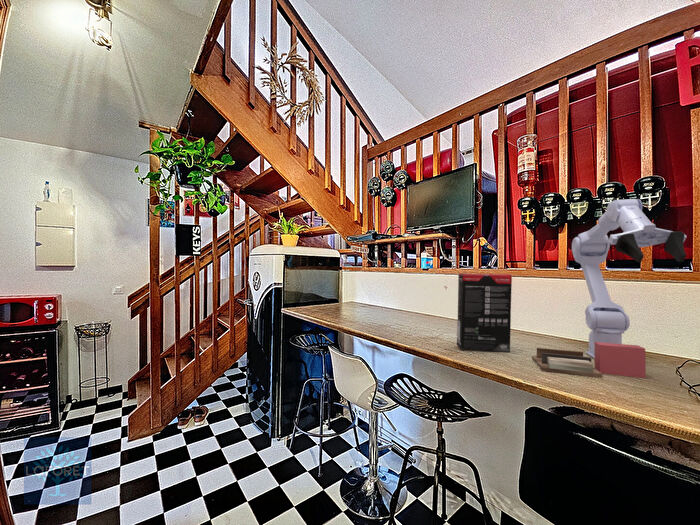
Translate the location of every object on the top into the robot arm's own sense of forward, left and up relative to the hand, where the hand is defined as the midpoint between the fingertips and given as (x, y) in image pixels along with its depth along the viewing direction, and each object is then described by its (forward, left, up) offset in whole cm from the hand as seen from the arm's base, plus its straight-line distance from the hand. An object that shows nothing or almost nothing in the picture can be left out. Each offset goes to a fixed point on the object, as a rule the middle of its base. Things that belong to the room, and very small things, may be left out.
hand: (661, 259), depth 70 cm
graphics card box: (-25, -37, -32) cm, 55 cm away
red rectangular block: (-13, -3, -32) cm, 35 cm away
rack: (-13, -16, -32) cm, 38 cm away
